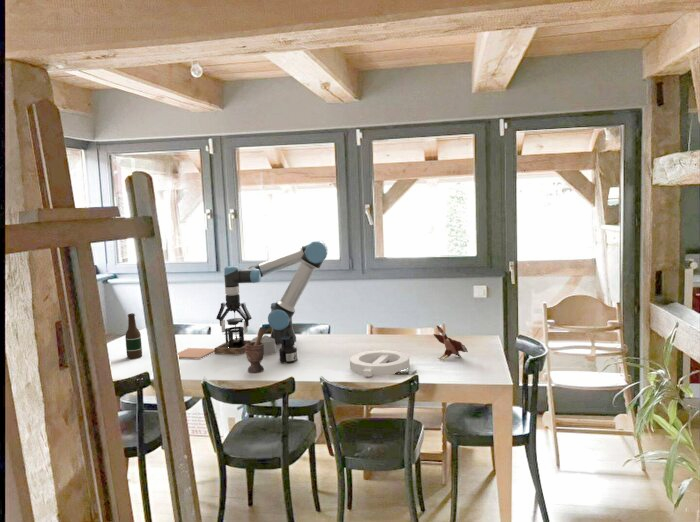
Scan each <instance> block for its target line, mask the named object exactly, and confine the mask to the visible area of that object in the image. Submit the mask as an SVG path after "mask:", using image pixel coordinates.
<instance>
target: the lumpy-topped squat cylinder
mask: <svg viewBox="0 0 700 522" xmlns="http://www.w3.org/2000/svg"><path fill="white" fill-rule="evenodd" d="M256 340H257V336H256V337H254V338H252V339H251V341H250V343H251V342H256ZM260 342H261V343H263V345H264V355H263V356H268V355H269V356H271V355H274V354H276V352H277V351H276V350H277V349H276V344H275V339H274V338H271V337H270V335H266V334H265V335H263V337H262V339H261V341H260Z"/></svg>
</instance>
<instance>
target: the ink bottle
mask: <svg viewBox="0 0 700 522" xmlns="http://www.w3.org/2000/svg"><path fill="white" fill-rule="evenodd" d="M295 342H296V341H295ZM295 342H294V337H291V336H287V337H282V338H281V344H280V347H279V349H278V352H279V353H278V354H279V362H280V363H282V364H293V363H296V362H297V361H298V348H297V346H296V345H295Z"/></svg>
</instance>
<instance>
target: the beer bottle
mask: <svg viewBox="0 0 700 522" xmlns="http://www.w3.org/2000/svg"><path fill="white" fill-rule="evenodd" d="M135 317H136V314H135V313H128V314H127V319H128V321H127V323H128V325H127V326H128V327H127V330H126V332H125V347H126V358H127V359H128V360H136V359H140V358H142V357H143V348H142V337H141V336H142V335H141V332H140V330H139V329H138V328H137V323H136V319H135Z"/></svg>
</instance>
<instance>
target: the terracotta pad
mask: <svg viewBox="0 0 700 522" xmlns="http://www.w3.org/2000/svg"><path fill="white" fill-rule="evenodd" d="M213 352H214V353H215V348H206V347H205V348H204V347H203V348H198V347H196V348H195V347H187V348H185V349H184V350H181V351H179V352H177V353H178V355H179V359H180V358H202V359H204V358H206V357H208V356H210V355H212V354H214V353H213ZM211 353H212V354H211ZM209 354H210V355H209ZM207 355H208V356H207ZM205 356H206V357H205ZM203 357H204V358H203ZM179 359H178V360H179ZM180 360H181V359H180Z"/></svg>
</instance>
